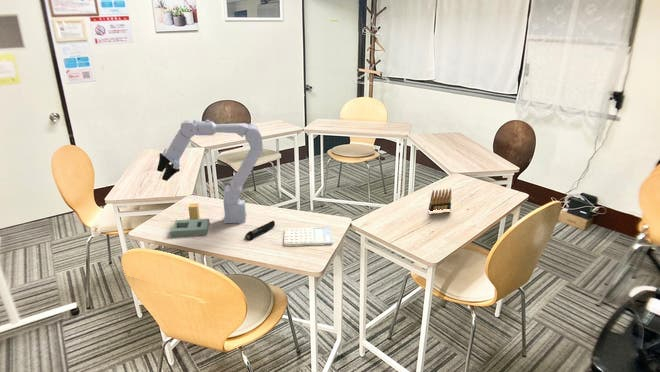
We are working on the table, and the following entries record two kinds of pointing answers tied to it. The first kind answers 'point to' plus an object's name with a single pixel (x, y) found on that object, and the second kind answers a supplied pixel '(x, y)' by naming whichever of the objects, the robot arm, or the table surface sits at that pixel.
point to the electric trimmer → (259, 230)
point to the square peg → (194, 211)
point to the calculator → (308, 236)
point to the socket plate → (190, 227)
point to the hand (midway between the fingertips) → (161, 175)
